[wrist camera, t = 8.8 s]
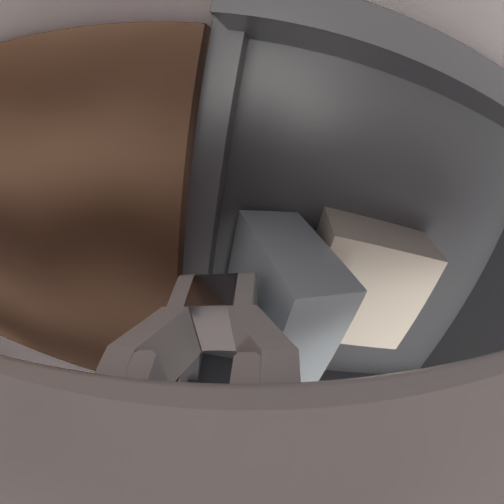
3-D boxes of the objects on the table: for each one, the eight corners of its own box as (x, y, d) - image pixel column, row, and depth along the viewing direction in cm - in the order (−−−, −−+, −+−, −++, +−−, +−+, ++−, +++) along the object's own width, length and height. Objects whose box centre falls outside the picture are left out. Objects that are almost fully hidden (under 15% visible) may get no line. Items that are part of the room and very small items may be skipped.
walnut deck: (189, 338, 19) (175, 391, 15) (10, 290, 18) (-19, 326, 15) (224, 38, 10) (204, 23, 7) (-20, 58, 10) (-72, 68, 6)
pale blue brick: (220, 308, 15) (270, 304, 16) (256, 399, 11) (315, 387, 12) (239, 210, 12) (297, 212, 13) (294, 299, 8) (367, 291, 9)
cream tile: (295, 337, 13) (292, 299, 15) (395, 349, 13) (383, 314, 16) (334, 235, 11) (324, 206, 13) (447, 262, 11) (424, 232, 13)
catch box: (415, 372, 20) (436, 442, 15) (189, 348, 19) (168, 431, 14) (537, 131, 10) (616, 173, 5) (229, 15, 10) (194, -29, 5)
